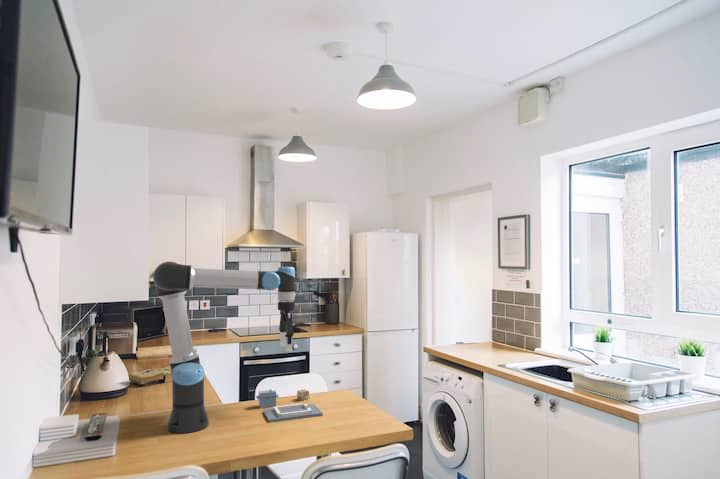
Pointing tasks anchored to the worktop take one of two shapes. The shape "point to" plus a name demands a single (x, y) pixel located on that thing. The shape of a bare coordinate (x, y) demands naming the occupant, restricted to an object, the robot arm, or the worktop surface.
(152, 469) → the worktop surface
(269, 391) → the servo block
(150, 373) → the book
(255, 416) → the worktop surface
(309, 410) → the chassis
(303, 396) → the oak block
